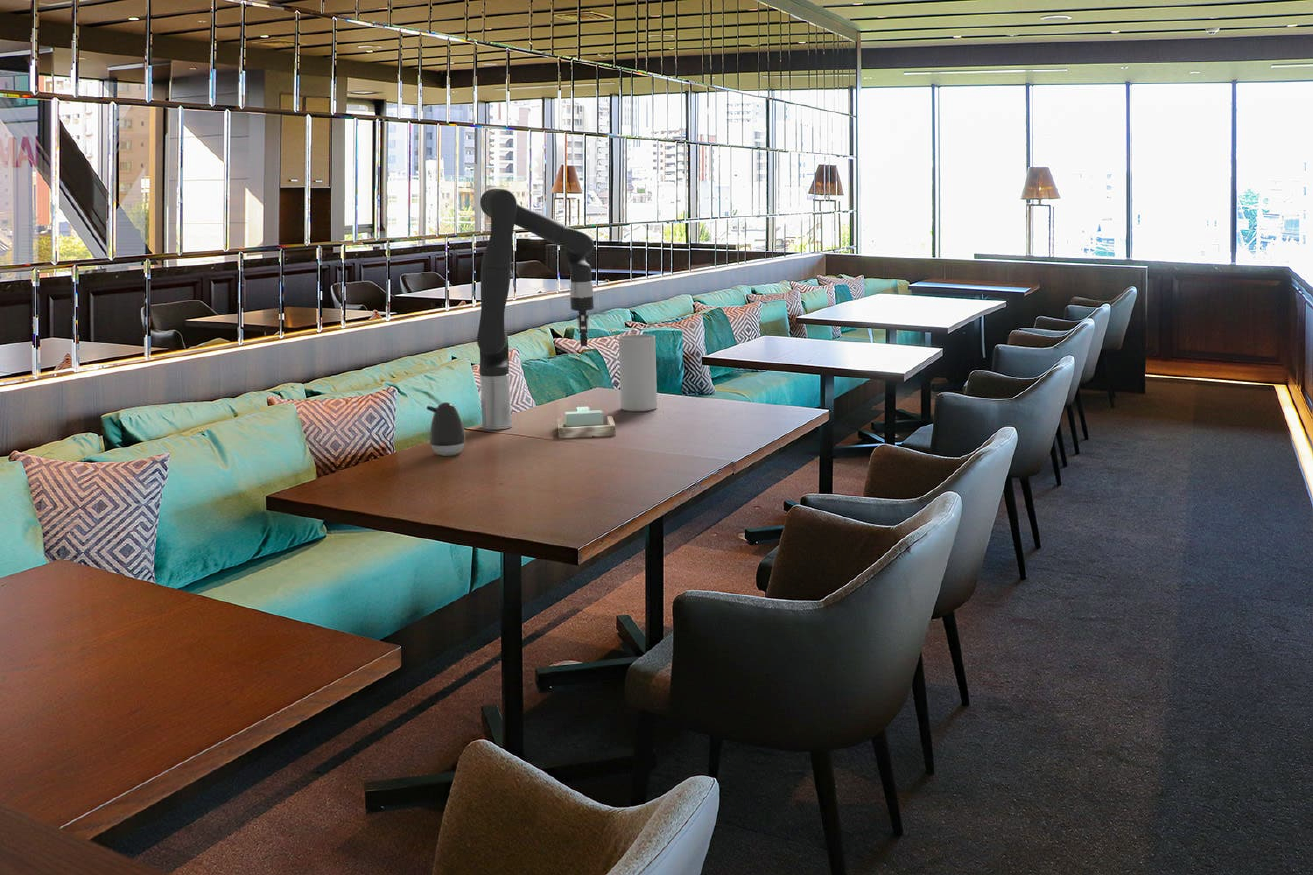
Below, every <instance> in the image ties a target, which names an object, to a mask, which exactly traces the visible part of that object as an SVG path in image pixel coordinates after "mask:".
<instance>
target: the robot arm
mask: <svg viewBox="0 0 1313 875" xmlns="http://www.w3.org/2000/svg"><path fill="white" fill-rule="evenodd" d="M479 205H480V208H481V210H482V212H483V213H484V214H485V215H486V216H487V217H489V218H490V234H489V238H488V242H487V244H486V246H485V249H484V252H483V255H482V258H481V259H482V260H481V264H480V265H481V267H480V318H479V324H478V330H477V336H476V344H477V346H478V348H479V383H480V396H481V397H480V398H481V400H480V404H481V405H480V408H481V409H480V410H481V423H482V430H491V431H492V430H495V431H497V430H506V429H509V428H511V427H512V426H513V425H512V408H511V407H512V406H511V390H510V389H511V387H510V385H511V384H510V369H509V368H510V356H509V354H510V352H509V336H508V333H507V331H506V329H505V312H506V311H505V310H506V304H507V300H508V295H509V293H510V292H509V290H510V284H511V275H512V274H511V273H512V272H511V270H512V256H513V255H512V252H513V235H514V228H515V226H517V227H518V228H521V229H523V230H526V231H528V232H530V233H531V234H533V235H535V236H536V237H539V238H541V239H543V240H545V241H547V242H549V243H550V244H553V245H556V246H559V247H562V248H563V247H564V252H565V256H566V261H567V264H568V267H569V277H570V278H569V280H570V283H569V293H570V294H569V298H570V309H571V311H575V312H576V311H577V312H578V315H576V321H577V330H579V332H578V334H579V338H580V346H581V347H587V346H588V329H589V321H590V320H589V319H590V317H589V314H587V311H592V310H594V307H595V306H594V289H593V282H592V267H591V265H590V264H589V263H588V262H587V261H586V256H588V255H590V254H591V253H593V250H594V249H595V243H594V240H593V238H592V237H591V236H590V235H589V234H587V233H585V232H583V231H580V230H578V229H574V228H573V227H572V228H571V227H570V226H567V225H565V224H563V223H561V222H559V221H557V220H556V219H553V218H552V217H549V216H548V215H545V214H542V213H539V212H537V211H533V210H532V209H531V210H530V209H529V208H526V207H524V206H522V205H520V204H518V202H517V198H516V196H515V194H514V193H513V192H512V191H511V190H509V189H505V188H490V189H488V190H485V192H484V193H483V194H482V195H481V197H480V200H479Z"/></svg>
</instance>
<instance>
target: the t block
mask: <svg viewBox="0 0 1313 875" xmlns="http://www.w3.org/2000/svg"><path fill="white" fill-rule="evenodd" d="M564 415H565V427H583V426H604V412H603V410H602V409H600V410H590V407H589V406H576V411H565V412H564Z"/></svg>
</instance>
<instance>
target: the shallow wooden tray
mask: <svg viewBox="0 0 1313 875" xmlns="http://www.w3.org/2000/svg"><path fill="white" fill-rule="evenodd" d="M606 422H607V424H605V425H604V424H603V425H585V426H565V427H564V423H563V418H561V417H560V418H557V434H558V438H559V439H567V438H568V439H569V438H573V439H574V438H590V437H592V436H595V437H610V436H611V437H612V436H616V424H615V421H614V419H613V416H612V415H608V416H606ZM592 438H593V437H592Z"/></svg>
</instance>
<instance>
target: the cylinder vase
mask: <svg viewBox="0 0 1313 875" xmlns="http://www.w3.org/2000/svg"><path fill="white" fill-rule="evenodd" d="M618 354H619V356H618V359H619V360H618V361H619V362H618V363H619V382H620V383H619V384H620V385H619V387H620V390H619V391H620V393H619V394H620V408H621V410H623V411H626V412H648V411H649V412H650V411H653V410H656V409H657V407H658V396H657V395H658V394H657V392H658V390H657V360H656V359H657V357H656V355H657V354H656V336H655V335H652V334H626V335H620V336H619V337H618Z"/></svg>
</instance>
